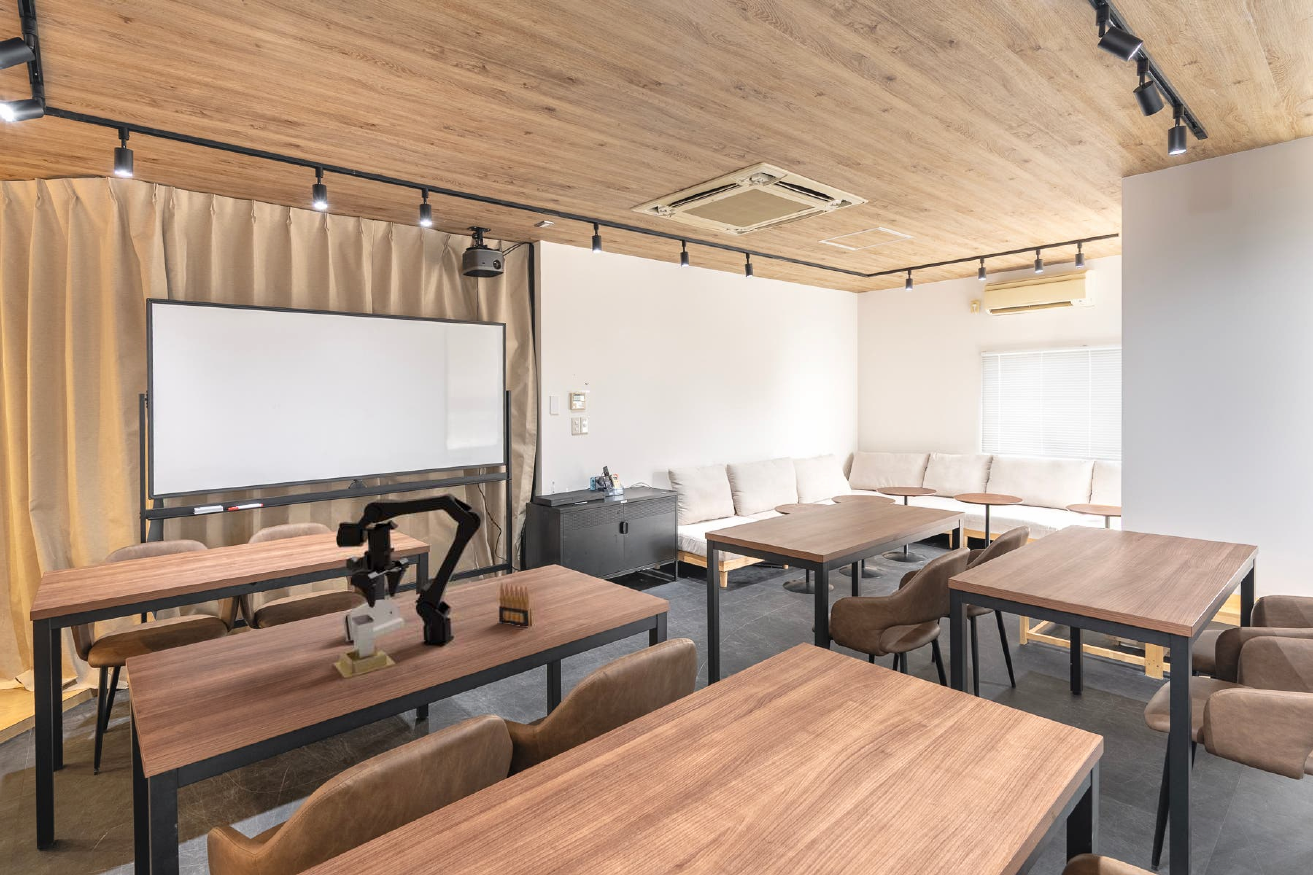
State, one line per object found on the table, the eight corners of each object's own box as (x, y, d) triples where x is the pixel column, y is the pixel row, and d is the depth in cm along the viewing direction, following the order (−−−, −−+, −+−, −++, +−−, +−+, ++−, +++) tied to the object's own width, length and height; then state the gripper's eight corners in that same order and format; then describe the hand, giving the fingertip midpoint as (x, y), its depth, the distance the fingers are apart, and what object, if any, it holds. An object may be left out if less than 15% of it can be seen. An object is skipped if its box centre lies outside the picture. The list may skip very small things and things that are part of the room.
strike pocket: (382, 652, 172) (382, 641, 172) (395, 664, 164) (394, 653, 164) (333, 664, 165) (333, 654, 165) (344, 678, 157) (344, 667, 156)
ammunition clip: (532, 625, 191) (530, 585, 190) (528, 627, 189) (527, 587, 188) (502, 620, 195) (501, 581, 194) (498, 622, 193) (497, 583, 192)
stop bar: (369, 657, 168) (367, 614, 167) (375, 664, 164) (373, 619, 163) (354, 661, 165) (351, 617, 165) (359, 668, 161) (357, 623, 160)
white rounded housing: (356, 644, 178) (347, 609, 179) (346, 647, 180) (337, 612, 181) (406, 625, 193) (397, 592, 194) (396, 627, 195) (388, 595, 196)
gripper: (373, 537, 187) (376, 590, 188) (330, 553, 168) (333, 611, 169) (408, 538, 184) (411, 591, 186) (368, 554, 166) (371, 613, 167)
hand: (382, 601), depth 177 cm, fingers open, 9 cm apart
